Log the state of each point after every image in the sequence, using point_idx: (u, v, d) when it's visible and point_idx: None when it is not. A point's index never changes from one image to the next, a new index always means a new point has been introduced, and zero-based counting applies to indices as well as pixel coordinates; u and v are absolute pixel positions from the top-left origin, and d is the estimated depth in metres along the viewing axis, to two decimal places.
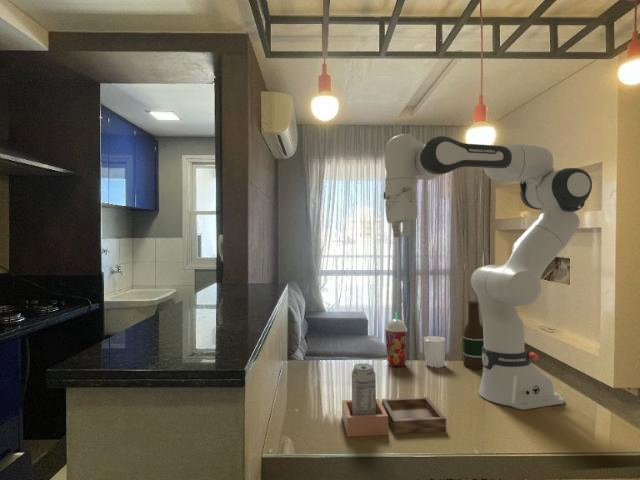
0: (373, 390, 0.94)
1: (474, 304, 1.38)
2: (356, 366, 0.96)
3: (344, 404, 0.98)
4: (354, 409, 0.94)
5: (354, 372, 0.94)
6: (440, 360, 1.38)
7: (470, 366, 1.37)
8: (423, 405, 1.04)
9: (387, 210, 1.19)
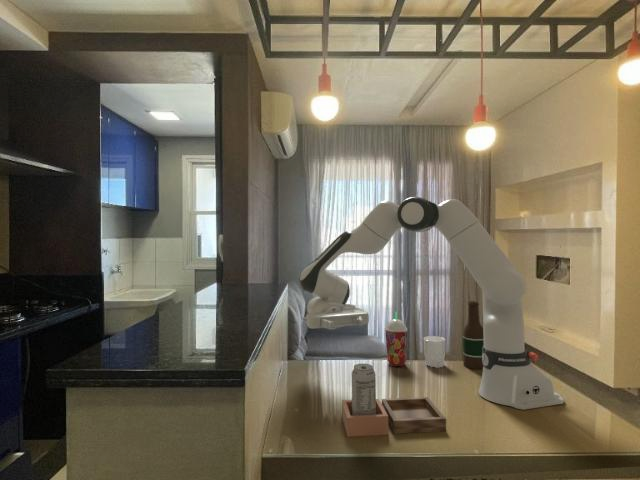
0: (373, 390, 0.94)
1: (474, 304, 1.38)
2: (356, 366, 0.96)
3: (344, 404, 0.98)
4: (354, 409, 0.94)
5: (354, 372, 0.94)
6: (440, 360, 1.38)
7: (470, 366, 1.37)
8: (423, 405, 1.04)
9: None
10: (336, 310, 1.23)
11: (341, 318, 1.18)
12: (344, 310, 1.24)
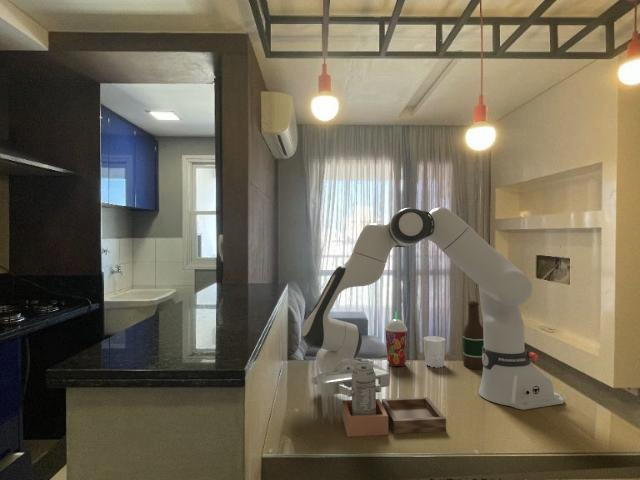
0: (373, 390, 0.94)
1: (474, 304, 1.38)
2: (356, 366, 0.96)
3: (344, 404, 0.98)
4: (354, 409, 0.94)
5: (354, 372, 0.94)
6: (440, 360, 1.38)
7: (470, 366, 1.37)
8: (423, 405, 1.04)
9: None
10: (351, 369, 1.05)
11: None
12: None
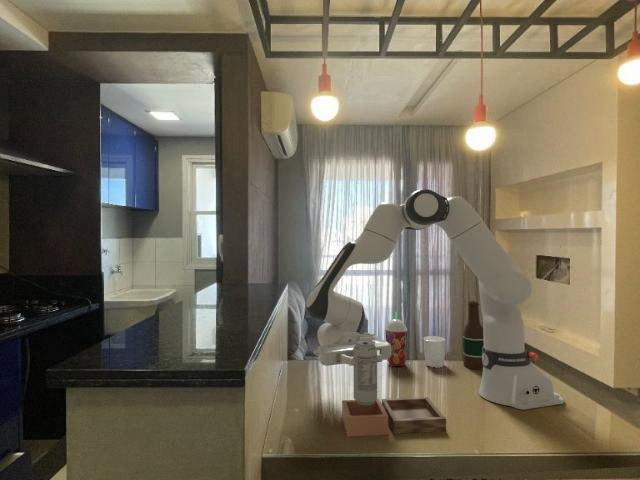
0: (375, 365, 0.94)
1: (474, 304, 1.38)
2: (358, 342, 0.96)
3: (344, 404, 0.98)
4: (355, 384, 0.94)
5: (356, 348, 0.94)
6: (440, 360, 1.38)
7: (470, 366, 1.37)
8: (423, 405, 1.04)
9: None
10: (352, 341, 1.05)
11: None
12: None
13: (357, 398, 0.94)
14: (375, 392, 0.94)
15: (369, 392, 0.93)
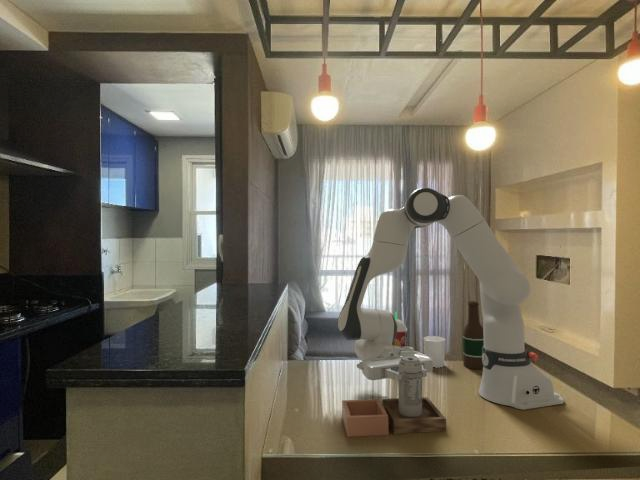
0: (420, 381, 0.97)
1: (474, 304, 1.38)
2: (403, 357, 0.99)
3: (344, 404, 0.98)
4: (401, 399, 0.97)
5: (401, 363, 0.98)
6: (440, 360, 1.38)
7: (470, 366, 1.37)
8: (423, 405, 1.04)
9: None
10: (394, 355, 1.08)
11: None
12: (403, 354, 1.09)
13: (403, 412, 0.97)
14: (420, 407, 0.97)
15: (416, 407, 0.96)
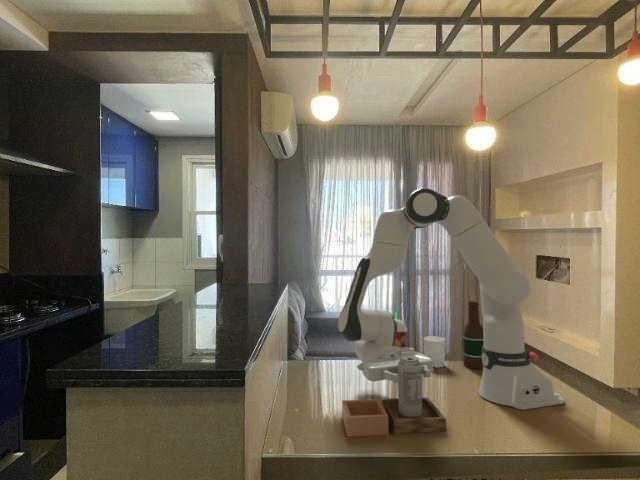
0: (420, 381, 0.97)
1: (474, 304, 1.38)
2: (402, 357, 0.99)
3: (344, 404, 0.98)
4: (401, 399, 0.97)
5: (401, 363, 0.98)
6: (440, 360, 1.38)
7: (470, 366, 1.37)
8: (423, 405, 1.04)
9: None
10: (395, 356, 1.08)
11: None
12: (404, 355, 1.09)
13: (403, 412, 0.97)
14: (420, 407, 0.97)
15: (415, 407, 0.96)
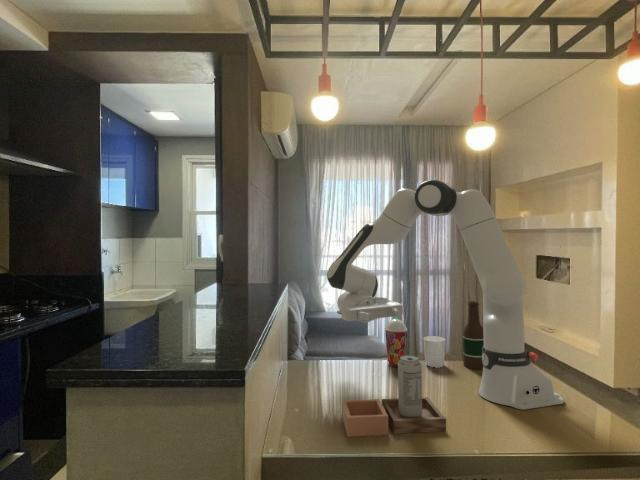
0: (420, 381, 0.97)
1: (474, 304, 1.38)
2: (402, 357, 0.99)
3: (344, 404, 0.98)
4: (401, 399, 0.97)
5: (401, 363, 0.98)
6: (440, 360, 1.38)
7: (470, 366, 1.37)
8: (423, 405, 1.04)
9: None
10: (370, 303, 1.24)
11: (376, 310, 1.19)
12: (378, 302, 1.25)
13: (403, 412, 0.97)
14: (420, 407, 0.97)
15: (415, 407, 0.96)
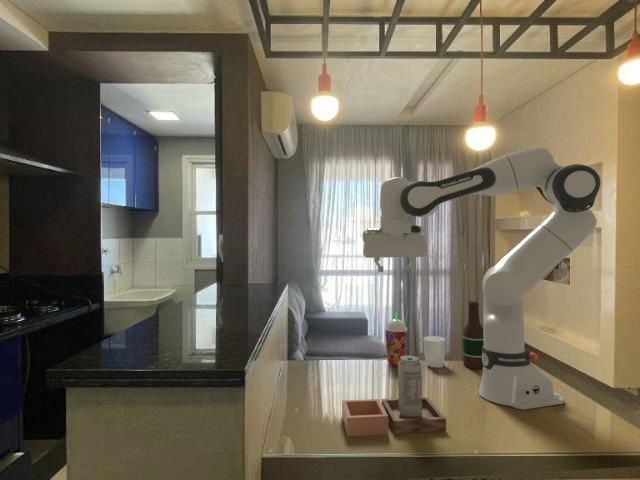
0: (420, 381, 0.97)
1: (474, 304, 1.38)
2: (402, 358, 0.99)
3: (344, 404, 0.98)
4: (401, 399, 0.97)
5: (401, 363, 0.98)
6: (440, 360, 1.38)
7: (470, 366, 1.37)
8: (423, 405, 1.04)
9: None
10: (399, 238, 1.19)
11: None
12: (408, 238, 1.19)
13: (403, 412, 0.97)
14: (420, 407, 0.97)
15: (415, 407, 0.96)
